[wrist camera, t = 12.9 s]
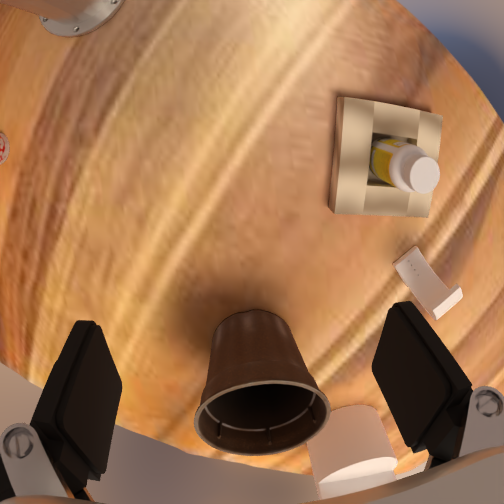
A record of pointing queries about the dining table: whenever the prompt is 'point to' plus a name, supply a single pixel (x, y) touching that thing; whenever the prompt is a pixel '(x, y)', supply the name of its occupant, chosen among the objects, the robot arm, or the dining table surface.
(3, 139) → the beverage cup
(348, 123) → the socket block
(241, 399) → the plant pot
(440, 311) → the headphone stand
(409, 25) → the dining table surface
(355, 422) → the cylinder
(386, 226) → the dining table surface
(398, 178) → the supplement bottle
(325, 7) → the dining table surface
